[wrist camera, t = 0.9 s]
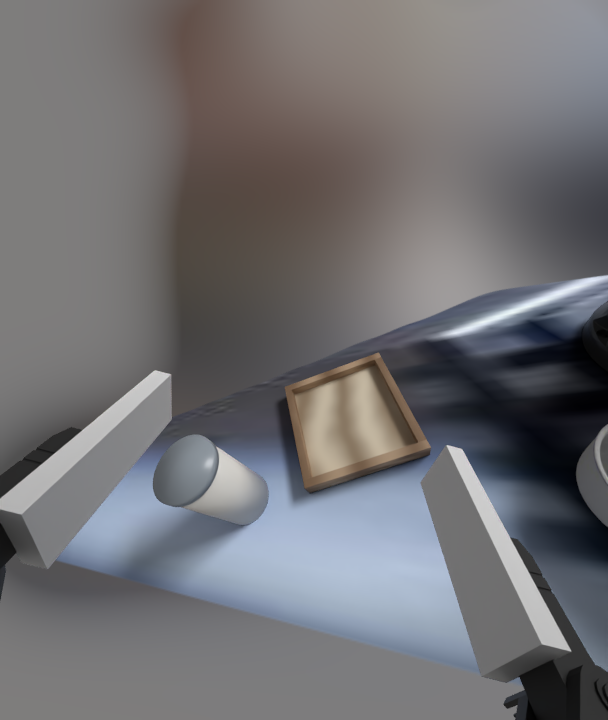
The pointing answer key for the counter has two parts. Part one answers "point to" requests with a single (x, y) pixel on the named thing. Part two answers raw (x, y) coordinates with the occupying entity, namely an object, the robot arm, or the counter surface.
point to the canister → (209, 482)
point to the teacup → (595, 475)
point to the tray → (352, 424)
